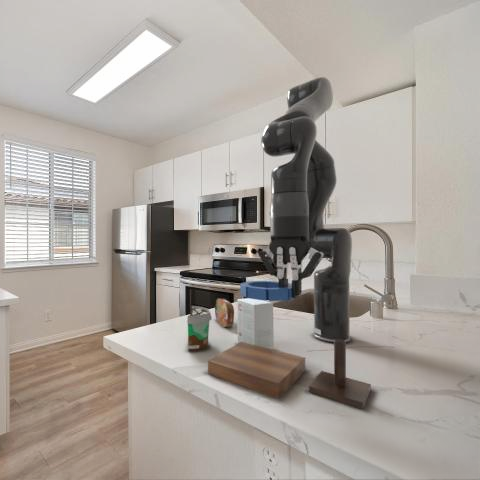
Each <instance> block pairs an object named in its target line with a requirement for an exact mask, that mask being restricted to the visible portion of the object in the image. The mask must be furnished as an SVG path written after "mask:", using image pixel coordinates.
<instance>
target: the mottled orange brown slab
mask: <svg viewBox="0 0 480 480" xmlns="http://www.w3.org/2000/svg"><path fill="white" fill-rule="evenodd" d="M214 315H215V319H216V321H217V322H218V323H219V324H220V326H221V327H223V328H232V327H233V326H234V324H235V321H234V320H235V308H234V305H233V303H232V302H230V301H229V300H227V299H226V298H219V297H218V298H216V300H215V305H214Z"/></svg>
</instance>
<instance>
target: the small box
mask: <svg viewBox="0 0 480 480" xmlns="http://www.w3.org/2000/svg"><path fill="white" fill-rule="evenodd" d="M236 304H237V305H236V306H237V307H236V308H237V309H236V310H237V311H236V312H237V314H236V315H237V317H236V318H237V323H236V324H237V325H236V327H237V329H236V330H237V331H236V332H237V344H238V343H240V342H245V343H249V344H253V345H257V346H261V347H265V348H269V349H273V350H275V344H274V337H275V336H274V334H275V333H274V302H272V301H268V300H267V301H264V300H257V299H250V298H246V297H245V298H237V299H236Z"/></svg>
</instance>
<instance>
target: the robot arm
mask: <svg viewBox="0 0 480 480" xmlns="http://www.w3.org/2000/svg"><path fill="white" fill-rule="evenodd" d="M286 96H287V97H286V102H287V103H286V104H287V111H285V112H284V114H283V115H281V116H279V117H277V118H275V119H274V120H272V121H271V122H270V123H268V124H267V125H266V126H265V128H264V129H263V132H262V134H261V138H260V139H261V140H260V144H261V148H262V150H263V151H264V153H265V154H266V155H267V156H269V157H273V158H274V157H275V158H276V157H283V156H287V155H288V156H289V155H294V156H293V157H292V159H291V160H289V161H288V162H286V163H284V164H281V165H279V166H276V167H274V168H273V169H272V171H271V172H270V173H271V174H270V195H271V196H270V202H269V203H270V205H269V220H270V221H269V222H270V223H269V224H270V225H269V226H270V227H269V229H270V234H269V235H270V241H269V244H268V247H267V248H265V249H263V250H259V251H258V253H257V254H258V257H259V258H260V260H261V262H262V263H263V266H264V267H265V269H266V271H267V272H268V274H269V275H270V276H272V277H276V278H277V279H278V280H277V281H278V282H279V288H284V287H287V286H288V283H289V278H287V277H288V268H289V264H290V269H291V277H292V280H291V284H292V298H294V299H298V298H299V297H300V296H301V295H302V293H303V292H302V291H303V290H302V289H303V288H302V287H303V286H302V283H303V282H302V281H303V280H304V279H306V278H310V277H311V276H312V275H313V294H314V295H313V318H314V320H313V321H314V322H313V324H314V325H313V337H314V338H316V339H318V340H320V341H324V342H327V343H332V344H334V339H343V340H345V341H346V343H349V342H350V341H351V336H350V321H351V320H350V311H351V310H350V277H351V273H352V253H353V252H352V251H353V238H352V234H351V232H350V231H349V229H348V228H345V227H325V225H324V214H325V209H326V206H327V205H328V203H329V201H330V199H331V197H332V195H333V193H334V191H335V189H336V186H337V173H336V166H335V160H334V158H333V156H332V154H331V153H330V152H329V151H328V150H327V148H325V147H324V146H323V145H322V144H321V143H320V142H319V141H318V140H317V133H318V130H317V125H316V122H317V120H318V119H320V117H321V116H322V115H324V114H325V113H326V112H328V110H330V109H331V108H332V106H333V103H334V93H333V87H332V83H331V81H330V80H329V79H328V78H327V77H325V76H320V77H316V78H314V79H313V78H312V79H311V80H309V81H306V82H303V83H300V84H298V85H295V86H292V87H291V88H290V89H289V90H288V91H287V95H286ZM307 255H308V259H309V261H308V263H307V264H306V266H305V267H304V269H303V260H305V258H306V257H307ZM273 256H274V258H275V259H276V263H275V261H274V260H273V258H272V257H273ZM323 259H331V263H330V264H329V265H328V266H326V267H325V268H320V269H317V270H316V268H317V267H318V266H319V264H320V263H321V261H322V260H323Z"/></svg>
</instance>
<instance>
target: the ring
mask: <svg viewBox="0 0 480 480" xmlns="http://www.w3.org/2000/svg"><path fill="white" fill-rule="evenodd" d="M239 287H240V291H239V292H240V295H241V296H243V297H244V298H245V299H246V298H250V299H257V300H264V301H268V302H279V301H287V302H288V301H291V300H294V299H295V298H292V283H290V282H288V286H287V287H284V288H279V281H278V280H277V281H276V280H250V281H244V282H241V283H240V286H239Z"/></svg>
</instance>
